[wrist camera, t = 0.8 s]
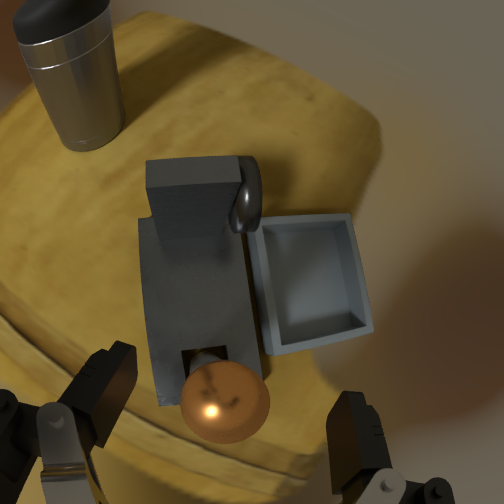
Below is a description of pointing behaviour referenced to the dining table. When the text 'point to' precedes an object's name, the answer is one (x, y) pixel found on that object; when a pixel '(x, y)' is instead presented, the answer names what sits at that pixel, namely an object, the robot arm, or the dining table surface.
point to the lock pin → (223, 399)
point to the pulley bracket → (198, 263)
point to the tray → (308, 282)
